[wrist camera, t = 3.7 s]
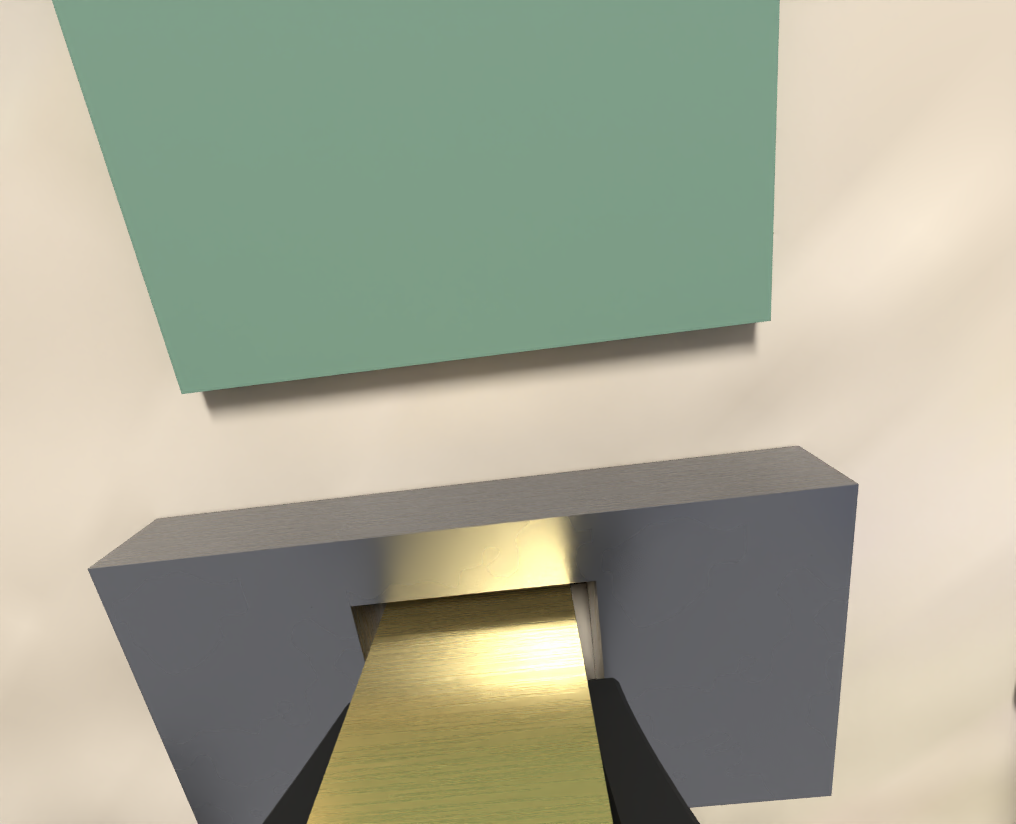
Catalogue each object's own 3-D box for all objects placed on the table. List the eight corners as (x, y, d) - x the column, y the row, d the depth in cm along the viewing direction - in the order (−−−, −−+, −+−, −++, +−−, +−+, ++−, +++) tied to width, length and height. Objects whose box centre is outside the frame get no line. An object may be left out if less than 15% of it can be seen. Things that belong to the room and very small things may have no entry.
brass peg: (563, 548, 12) (657, 1063, 4) (577, 679, 13) (671, 1271, 5) (400, 565, 12) (208, 1092, 4) (428, 693, 13) (315, 1285, 6)
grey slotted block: (798, 445, 11) (858, 484, 9) (785, 719, 13) (831, 795, 11) (157, 518, 12) (87, 568, 10) (250, 768, 14) (208, 848, 12)
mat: (769, -354, 7) (791, -406, 7) (756, 317, 10) (771, 320, 10) (7, -217, 8) (-32, -254, 7) (199, 387, 11) (182, 394, 10)
